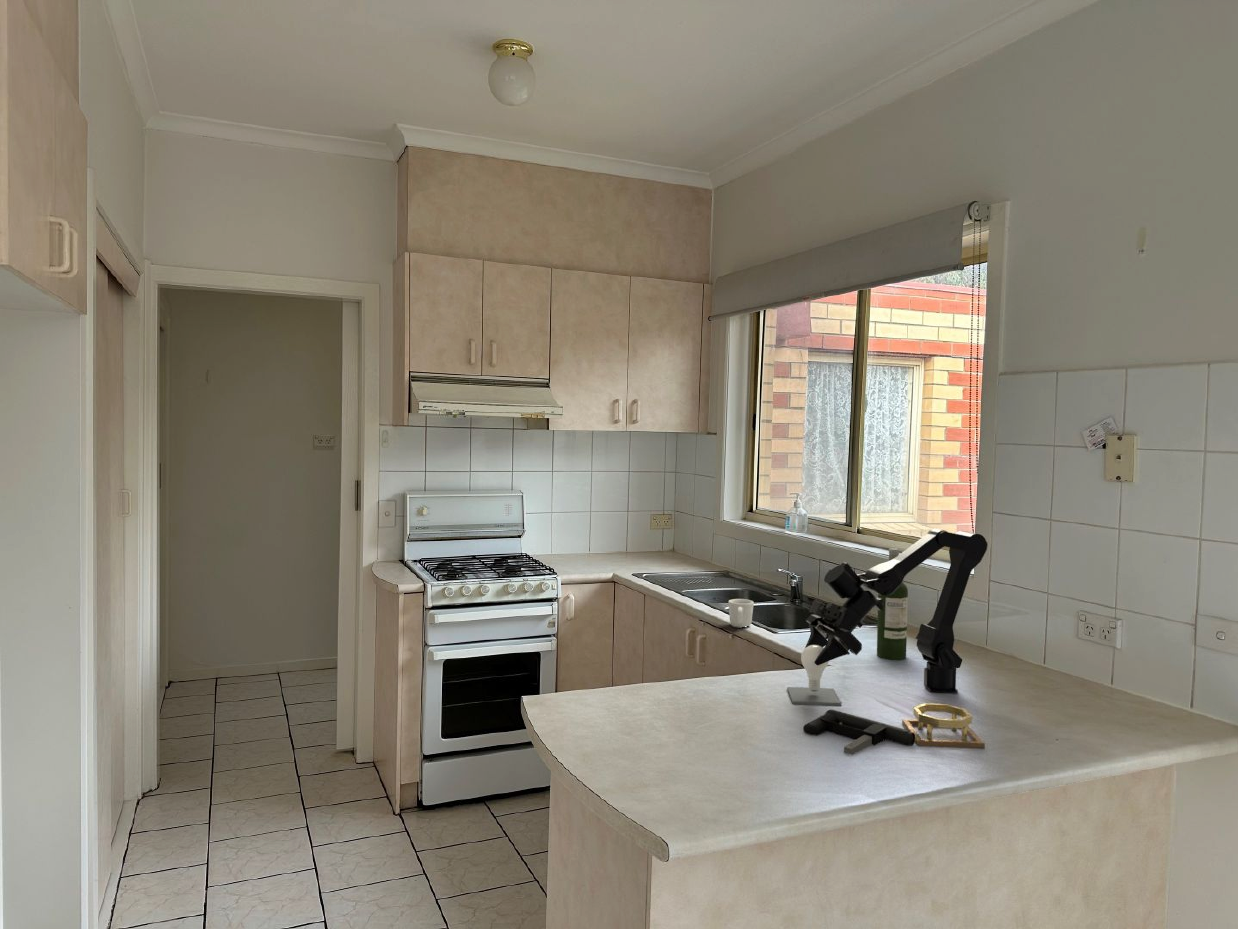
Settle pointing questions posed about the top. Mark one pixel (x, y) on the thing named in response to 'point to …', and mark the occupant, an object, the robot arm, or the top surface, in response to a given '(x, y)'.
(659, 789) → the top surface
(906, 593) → the wine bottle
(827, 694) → the mat
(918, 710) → the ring stand
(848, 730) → the door handle
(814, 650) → the lightbulb
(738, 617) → the cup
